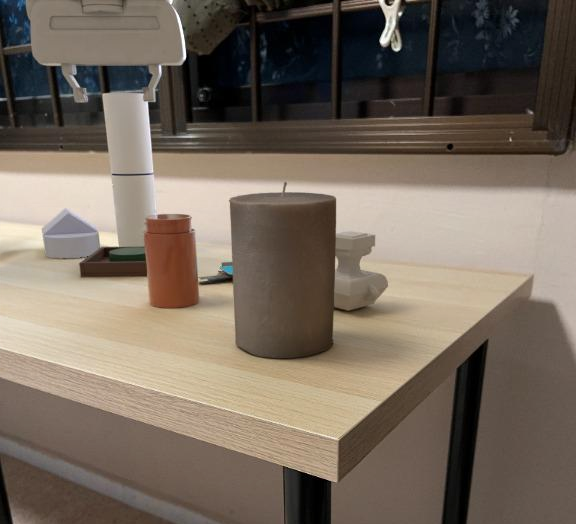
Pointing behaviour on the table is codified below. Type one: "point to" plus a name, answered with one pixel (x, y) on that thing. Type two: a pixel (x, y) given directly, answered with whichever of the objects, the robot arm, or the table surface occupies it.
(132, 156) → the cylindrical container
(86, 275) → the tray
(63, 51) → the robot arm
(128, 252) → the jar lid
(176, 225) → the jar
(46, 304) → the table surface
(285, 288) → the pillar candle
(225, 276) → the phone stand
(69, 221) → the wedge on round base
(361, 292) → the stamp
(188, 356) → the table surface
